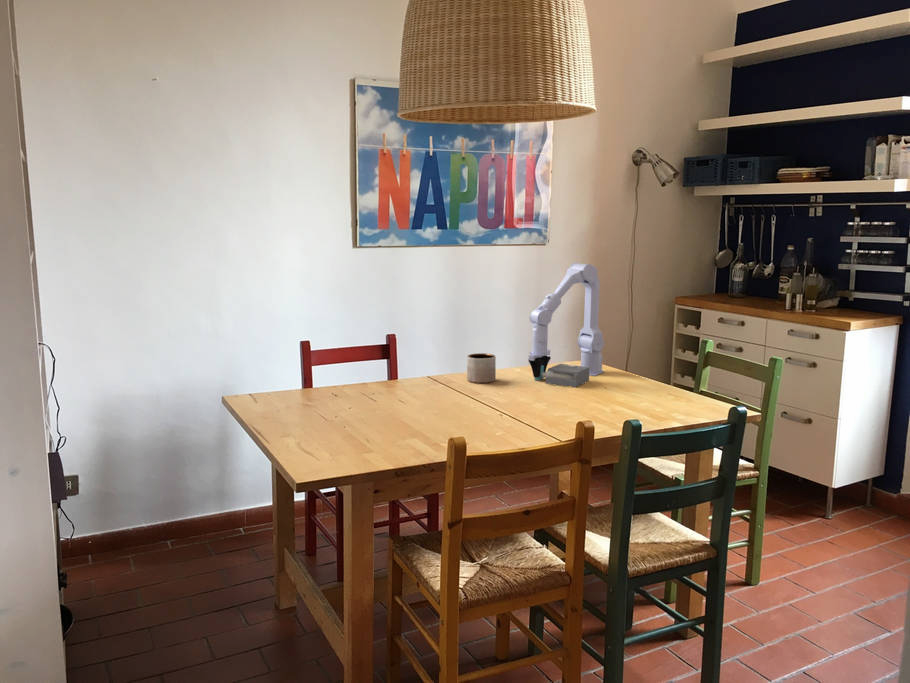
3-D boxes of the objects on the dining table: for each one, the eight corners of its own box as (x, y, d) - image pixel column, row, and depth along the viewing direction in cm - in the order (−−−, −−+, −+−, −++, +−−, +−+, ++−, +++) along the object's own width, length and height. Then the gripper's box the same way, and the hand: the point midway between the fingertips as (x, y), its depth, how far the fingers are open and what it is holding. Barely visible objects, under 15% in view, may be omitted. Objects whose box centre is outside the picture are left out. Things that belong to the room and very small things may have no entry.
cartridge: (539, 377, 305) (539, 365, 304) (576, 382, 297) (576, 369, 296) (534, 379, 301) (534, 367, 300) (572, 384, 293) (572, 371, 292)
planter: (498, 383, 297) (499, 358, 295) (470, 384, 295) (470, 359, 293) (491, 377, 307) (491, 352, 306) (464, 378, 305) (464, 353, 303)
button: (570, 371, 302) (570, 364, 302) (576, 371, 301) (576, 365, 301) (567, 372, 300) (567, 365, 300) (573, 372, 299) (573, 366, 299)
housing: (559, 377, 307) (560, 363, 306) (588, 381, 300) (589, 367, 299) (545, 383, 296) (546, 369, 295) (575, 387, 290) (576, 373, 289)
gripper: (538, 337, 308) (538, 371, 310) (521, 342, 296) (521, 378, 298) (555, 339, 304) (554, 373, 307) (538, 344, 292) (538, 380, 295)
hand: (539, 376), depth 302 cm, fingers closed on cartridge, 4 cm apart
